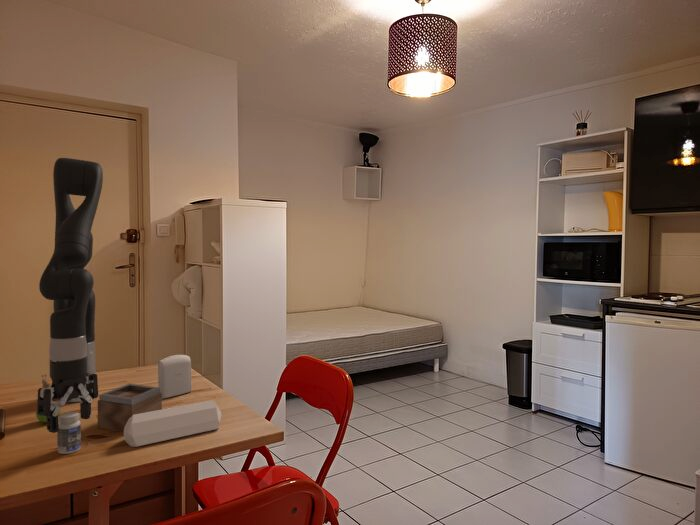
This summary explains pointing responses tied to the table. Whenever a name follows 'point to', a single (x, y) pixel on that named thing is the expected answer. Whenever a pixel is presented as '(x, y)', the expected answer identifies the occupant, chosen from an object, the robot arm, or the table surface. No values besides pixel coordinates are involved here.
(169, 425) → the crystal
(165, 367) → the photo printer
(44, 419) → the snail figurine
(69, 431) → the pill bottle
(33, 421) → the table surface
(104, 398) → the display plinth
